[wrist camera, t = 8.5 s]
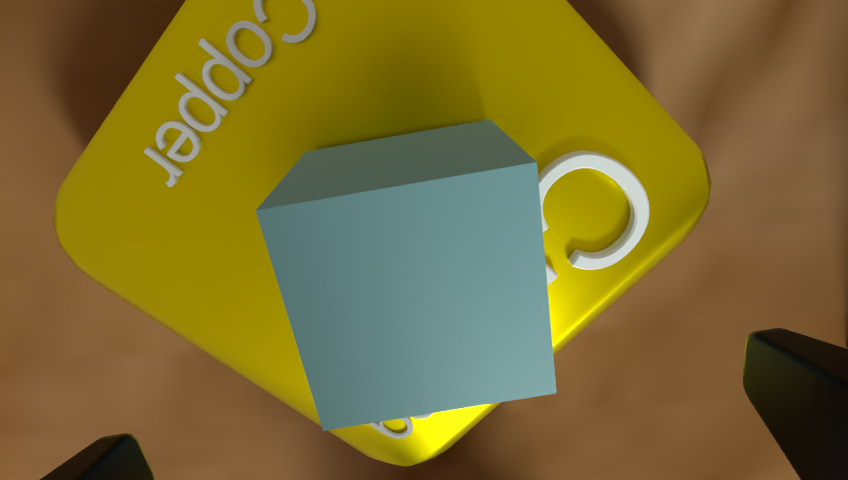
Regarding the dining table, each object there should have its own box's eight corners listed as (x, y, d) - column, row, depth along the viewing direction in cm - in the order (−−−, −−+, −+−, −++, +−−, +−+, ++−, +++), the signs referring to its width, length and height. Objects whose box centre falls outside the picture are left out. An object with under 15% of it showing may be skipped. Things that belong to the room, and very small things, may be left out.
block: (509, 285, 15) (556, 393, 11) (346, 312, 15) (323, 430, 11) (490, 119, 14) (536, 162, 9) (305, 151, 14) (255, 210, 9)
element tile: (361, -173, 15) (345, -262, 11) (673, 161, 19) (756, 198, 15) (100, 196, 19) (6, 246, 14) (408, 409, 23) (409, 500, 18)
